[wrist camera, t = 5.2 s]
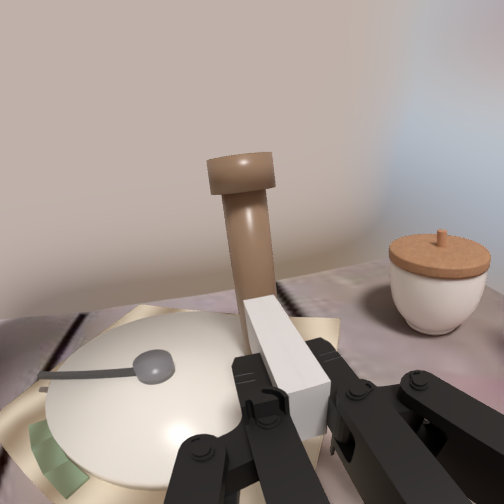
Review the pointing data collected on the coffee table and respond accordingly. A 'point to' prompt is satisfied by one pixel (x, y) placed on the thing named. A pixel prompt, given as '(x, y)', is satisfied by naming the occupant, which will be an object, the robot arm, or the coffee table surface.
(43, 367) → the coffee table surface
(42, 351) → the coffee table surface
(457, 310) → the lidded jar
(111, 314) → the coffee table surface
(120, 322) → the beige flat board
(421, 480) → the robot arm
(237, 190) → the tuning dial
